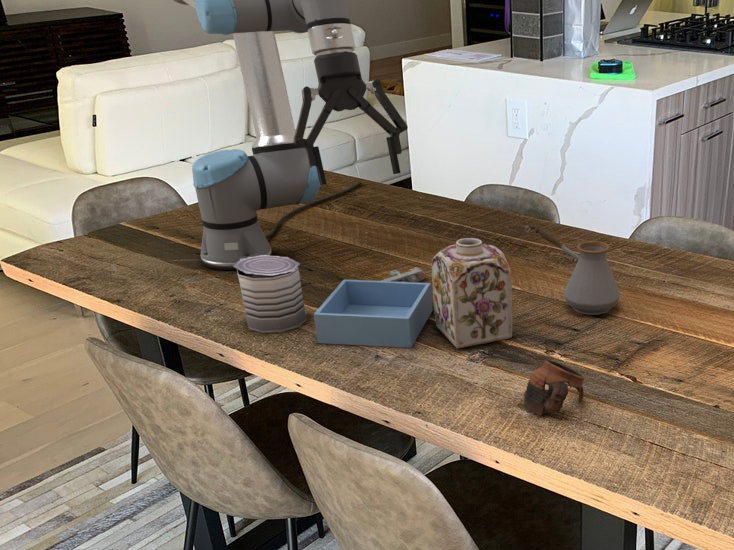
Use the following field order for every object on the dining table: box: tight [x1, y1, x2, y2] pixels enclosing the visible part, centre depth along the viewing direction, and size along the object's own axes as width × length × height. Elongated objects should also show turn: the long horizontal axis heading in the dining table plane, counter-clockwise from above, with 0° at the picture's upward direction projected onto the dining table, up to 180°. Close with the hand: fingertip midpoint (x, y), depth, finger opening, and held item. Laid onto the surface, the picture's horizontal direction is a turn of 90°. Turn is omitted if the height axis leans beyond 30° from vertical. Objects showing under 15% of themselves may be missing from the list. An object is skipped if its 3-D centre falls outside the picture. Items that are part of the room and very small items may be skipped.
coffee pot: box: [524, 222, 621, 316], centre depth 175 cm, size 21×12×15 cm, turn 59°
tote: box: [313, 278, 434, 349], centre depth 166 cm, size 18×18×6 cm
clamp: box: [380, 266, 425, 283], centre depth 184 cm, size 15×2×10 cm
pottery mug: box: [521, 359, 585, 417], centre depth 139 cm, size 12×10×8 cm
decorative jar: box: [430, 237, 514, 350], centre depth 161 cm, size 12×12×18 cm
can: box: [233, 255, 307, 334], centre depth 166 cm, size 11×11×12 cm
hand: (360, 179), depth 158 cm, fingers open, 13 cm apart
